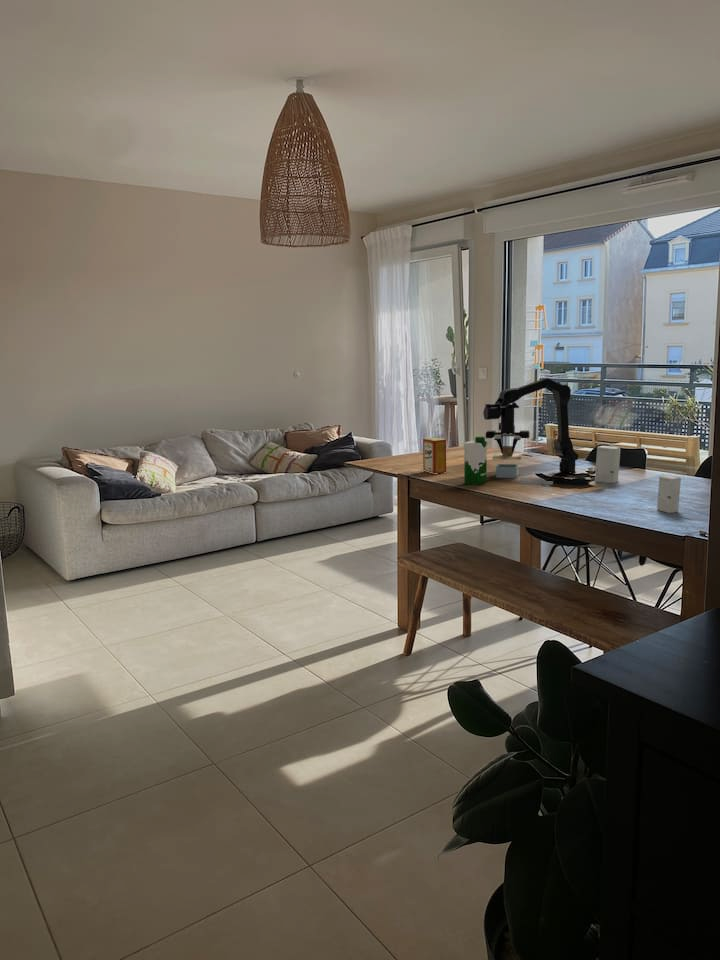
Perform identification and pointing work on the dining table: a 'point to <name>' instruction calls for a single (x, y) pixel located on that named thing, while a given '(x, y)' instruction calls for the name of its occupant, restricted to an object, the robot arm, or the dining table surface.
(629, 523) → the dining table surface
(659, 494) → the skincare box
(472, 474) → the milk carton
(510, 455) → the lid
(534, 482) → the mat
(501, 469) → the light blue storage bin
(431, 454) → the baking soda box
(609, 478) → the skincare box
